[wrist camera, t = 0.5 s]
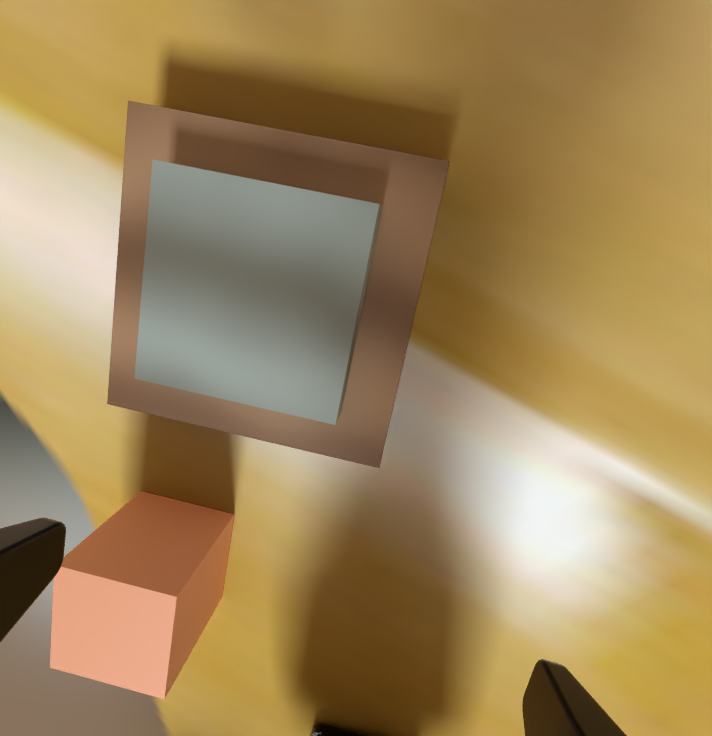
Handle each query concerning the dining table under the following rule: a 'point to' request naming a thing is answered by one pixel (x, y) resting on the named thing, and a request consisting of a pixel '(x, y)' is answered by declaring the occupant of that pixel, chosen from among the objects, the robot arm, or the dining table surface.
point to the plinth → (308, 173)
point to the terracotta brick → (140, 593)
